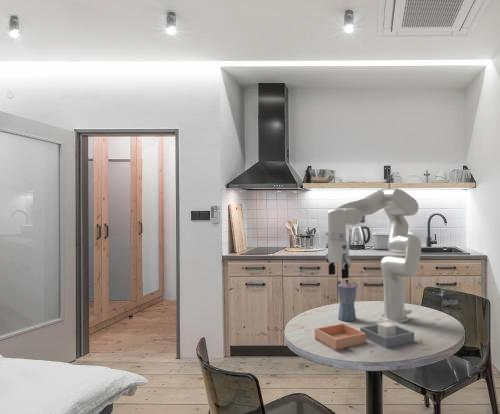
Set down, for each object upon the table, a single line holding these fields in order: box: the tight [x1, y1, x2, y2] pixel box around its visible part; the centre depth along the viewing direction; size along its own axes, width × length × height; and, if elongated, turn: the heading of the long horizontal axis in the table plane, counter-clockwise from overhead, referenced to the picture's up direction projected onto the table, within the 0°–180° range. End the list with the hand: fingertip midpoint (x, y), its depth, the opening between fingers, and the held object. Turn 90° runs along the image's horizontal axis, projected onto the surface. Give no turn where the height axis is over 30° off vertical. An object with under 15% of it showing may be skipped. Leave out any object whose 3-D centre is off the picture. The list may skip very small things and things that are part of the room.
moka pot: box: [336, 279, 358, 323], centre depth 186 cm, size 10×15×20 cm, turn 24°
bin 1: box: [314, 322, 367, 352], centre depth 155 cm, size 15×15×4 cm
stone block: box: [376, 321, 396, 337], centre depth 155 cm, size 5×5×6 cm
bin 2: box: [359, 323, 415, 349], centre depth 155 cm, size 15×15×4 cm
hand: (338, 276), depth 161 cm, fingers open, 9 cm apart
